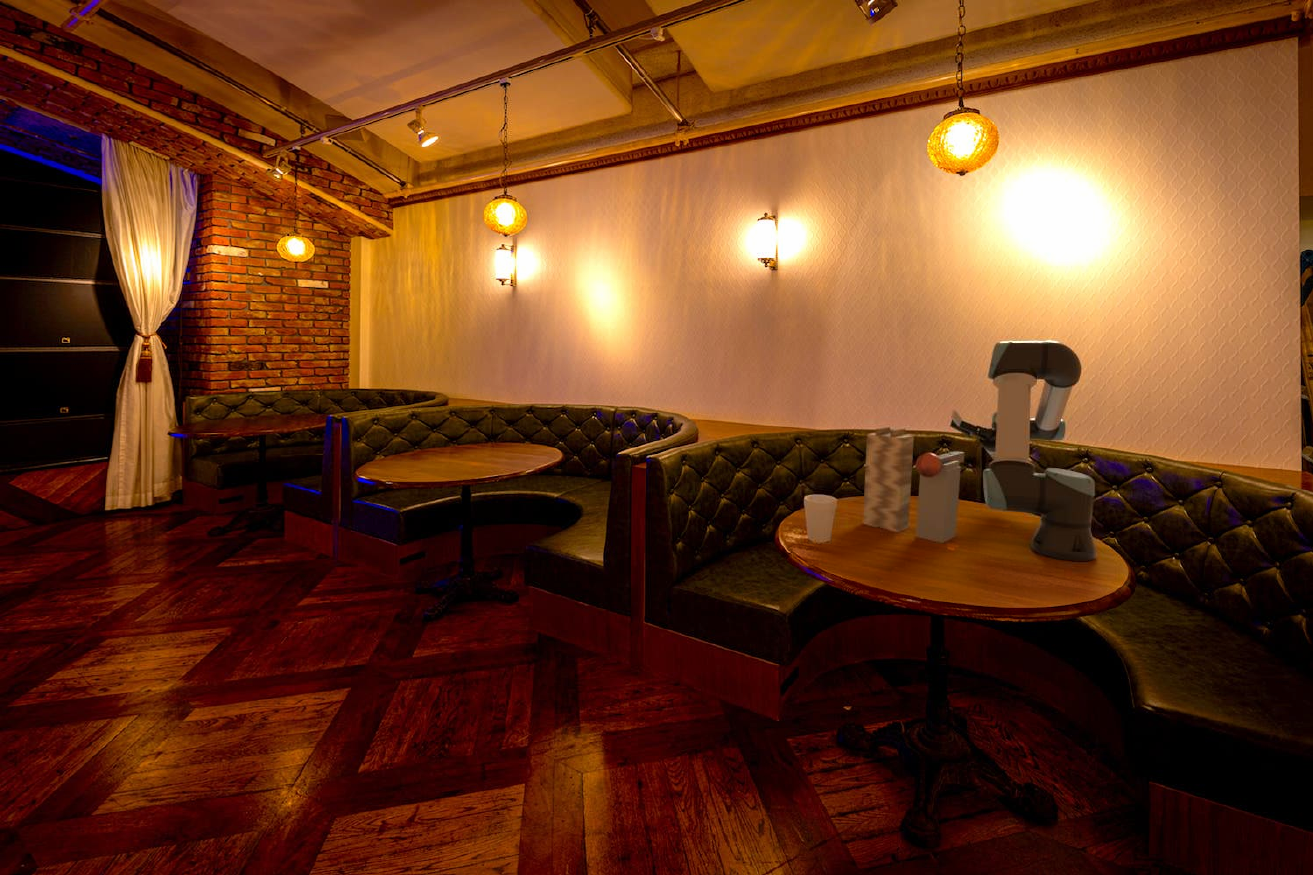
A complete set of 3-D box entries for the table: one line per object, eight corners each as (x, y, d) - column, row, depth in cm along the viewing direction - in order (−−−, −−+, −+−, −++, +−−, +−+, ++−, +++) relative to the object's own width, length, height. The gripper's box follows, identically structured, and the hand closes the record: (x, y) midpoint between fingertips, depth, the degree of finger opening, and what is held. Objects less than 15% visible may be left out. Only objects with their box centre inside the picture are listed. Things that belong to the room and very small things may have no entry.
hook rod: (970, 468, 185) (971, 446, 184) (938, 479, 172) (940, 455, 170) (947, 465, 191) (948, 444, 190) (915, 475, 177) (916, 452, 176)
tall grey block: (955, 536, 183) (961, 461, 179) (942, 543, 177) (947, 465, 173) (929, 530, 189) (934, 457, 185) (916, 536, 183) (920, 461, 179)
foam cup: (838, 545, 175) (840, 502, 173) (807, 545, 176) (808, 502, 174) (830, 535, 185) (831, 494, 183) (800, 535, 185) (801, 494, 183)
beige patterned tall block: (908, 527, 192) (914, 429, 187) (897, 532, 187) (903, 431, 182) (873, 519, 201) (878, 426, 196) (862, 523, 196) (867, 428, 191)
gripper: (1032, 456, 195) (1014, 430, 182) (954, 447, 214) (932, 422, 201) (1038, 436, 197) (1020, 408, 183) (960, 428, 215) (939, 402, 202)
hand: (974, 415), depth 192 cm, fingers open, 13 cm apart
